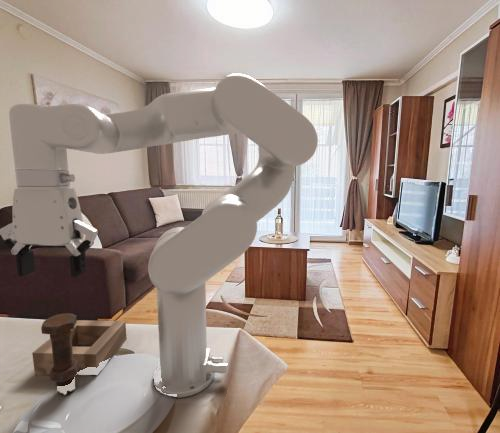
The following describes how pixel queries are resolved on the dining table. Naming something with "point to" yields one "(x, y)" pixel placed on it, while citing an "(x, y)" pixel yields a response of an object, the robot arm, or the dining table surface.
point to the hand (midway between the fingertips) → (52, 274)
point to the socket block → (85, 332)
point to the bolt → (61, 347)
